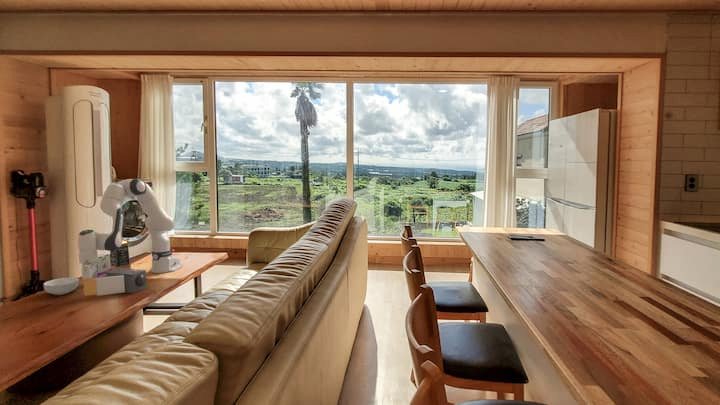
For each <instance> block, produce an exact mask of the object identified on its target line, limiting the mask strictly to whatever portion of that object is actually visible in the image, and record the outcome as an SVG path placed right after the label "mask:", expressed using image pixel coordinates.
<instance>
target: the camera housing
mask: <svg viewBox="0 0 720 405" xmlns="http://www.w3.org/2000/svg"><path fill="white" fill-rule="evenodd" d="M105 274H107V277H112V276H121V275H124V284H125V292H124V293H129V294H135V293H138V292H140V291H142V290H145V289H147V288H148V286H147V283H148V282H147V270H146V269H136V268H131V269H128V268H117V269H114V270H110V271H107V272H105Z"/></svg>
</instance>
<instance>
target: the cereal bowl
mask: <svg viewBox="0 0 720 405" xmlns="http://www.w3.org/2000/svg"><path fill="white" fill-rule="evenodd" d="M79 284H80V279H79V278H78V277H61V278H56V279H51V280H48V281H45V282H43V289H44V291H45V292H46V293H48V294H53V295H54V296H62V295H67V294H69V293H71V292H72V291H74V290H76V289H77V288H78V286H79Z"/></svg>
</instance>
